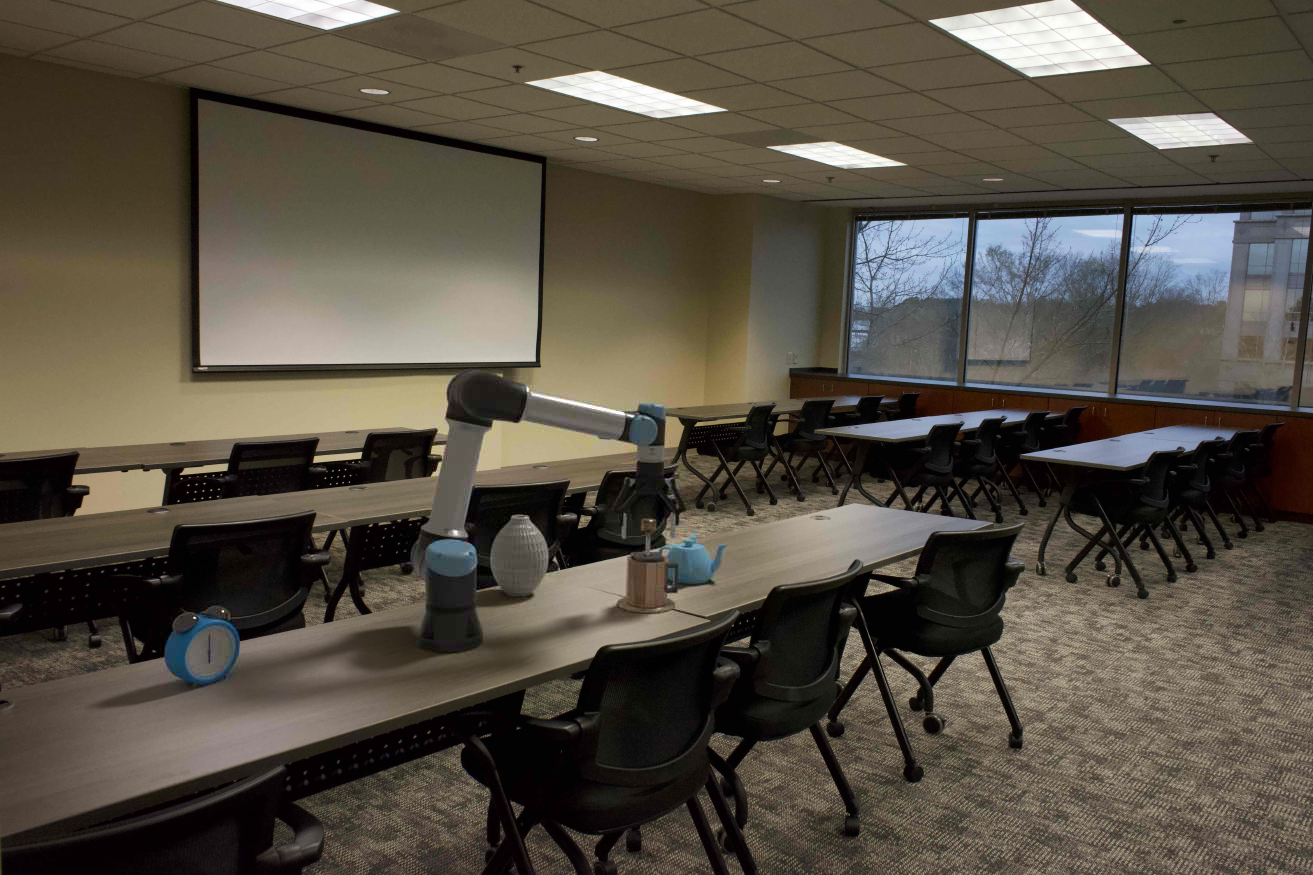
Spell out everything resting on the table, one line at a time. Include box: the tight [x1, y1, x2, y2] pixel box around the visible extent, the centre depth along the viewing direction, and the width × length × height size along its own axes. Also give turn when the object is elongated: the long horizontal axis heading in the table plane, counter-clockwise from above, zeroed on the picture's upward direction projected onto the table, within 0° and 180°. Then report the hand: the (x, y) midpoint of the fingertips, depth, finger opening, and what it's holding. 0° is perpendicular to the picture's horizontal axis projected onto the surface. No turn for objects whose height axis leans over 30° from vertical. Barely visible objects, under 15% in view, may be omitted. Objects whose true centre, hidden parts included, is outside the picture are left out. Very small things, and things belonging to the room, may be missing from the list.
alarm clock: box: [163, 605, 241, 689], centre depth 189 cm, size 13×6×15 cm, turn 148°
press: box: [616, 551, 679, 614], centre depth 255 cm, size 16×16×14 cm
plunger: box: [640, 518, 657, 562], centre depth 254 cm, size 7×7×20 cm
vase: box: [489, 514, 549, 597], centre depth 263 cm, size 16×16×22 cm
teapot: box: [658, 533, 729, 585], centre depth 285 cm, size 17×19×12 cm
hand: (648, 537), depth 254 cm, fingers open, 13 cm apart
